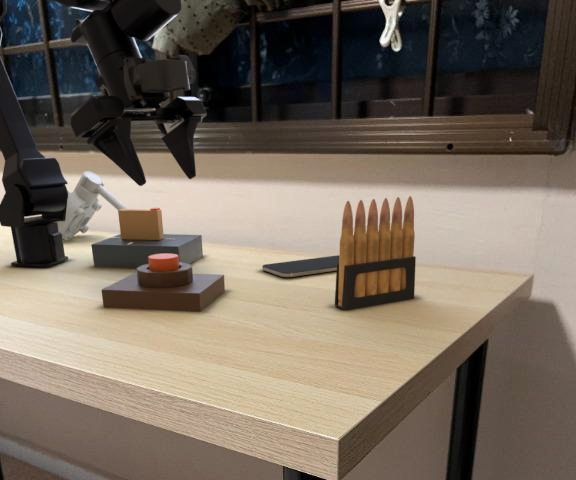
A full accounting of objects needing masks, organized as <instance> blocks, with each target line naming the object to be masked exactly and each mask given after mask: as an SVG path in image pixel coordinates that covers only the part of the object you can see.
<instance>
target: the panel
mask: <svg viewBox="0 0 576 480" xmlns="http://www.w3.org/2000/svg"><path fill="white" fill-rule="evenodd" d="M163 235H164V238H163V239H161V240H127V239H121V233H119V234H117V235H114V236H111V237H107V238H106V239H103V240H100V241H97V242H93V243H91V252H92V253H91V254H92V260H93V261H92V262H93V267H94V268H115V269H119V268H120V269H136V268H138V267H140V266H142V265H145V264H149V261H148V257H149V256H150V255H154V254H164V253H169V254H177V255H178V257H179V262H181V263H187V264H190V265H192V264H193V263H194V262H196V261H197V260H199V259H200V258H202V257H204V253H203V251H204V250H203V236H202V234H177V233H176V234H174V233H173V234H170V233H163Z"/></svg>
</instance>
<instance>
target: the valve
mask: <svg viewBox="0 0 576 480" xmlns="http://www.w3.org/2000/svg"><path fill="white" fill-rule="evenodd" d="M104 186H105V182H104V180H103V179H102V177H100V176H99V175H98V174H97V173H95V172H92V171H87V170H85V171H83V173H82V174H81V177H80V178H79V180H78V182H77V183H76V185H75V187H74V189H73V191H70V190H68V189H67V191H68V200H67V209H66V219H65V221H58V222H57V223H58V230H59V232H61V234H62V240H64V241H66V242H67V241H69V240H70V239H71V238H73V237H74V236H75V235H77V234H78V233H79V232H80V233H82V234H84V235H85V234H86V233H87V232H88V230H89V229H90V227H89V226H88V223H89V222H90V220H92V218H93V216H94V215H95V213H96V212H98V211H100V210H101V209H102V207H103V205H102V203H101V202H99V201H100V200H99V198H98V197H99V195H100V196H101V197H102V198H103V199H104V200H106V201H107V203H109V204H110V205H111V206H113V207H114V208H115V209H116V210H117V211H118V210H121V209H129V208H128V207H127V206H126V205H124V203H122V202H121V201H120V200H119V199H118V198H116V197H115V196H114V194H112V193H111V192H109V190H107V189H106V188H105V187H104Z"/></svg>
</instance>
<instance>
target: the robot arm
mask: <svg viewBox="0 0 576 480" xmlns="http://www.w3.org/2000/svg"><path fill="white" fill-rule="evenodd" d="M53 1H54V2H56V3H58V4H60V5H62V6H64V7H67V8H71V9H76V10H82V11H85V12H86V11H87V12H90V13H89V14H88V15H87V16H86V17H85V18H84V19H79V18H77V19H75V20H74V27H73V29H72V31H71V34H70V42H71V43H72V44H77V45H84V46H87V47H88V50H89V52H90V54H91V56H92V59H93V61H94V64H95V66H96V68H97V71H98V74H99V76H98V77H97V78H96V79H95V80H94V81H95V84H96V86H97V89H99V90H101V89H103V90H106V92H107V95H102V94H91V95H90V96H89V97H87V99H86V100H84V102H82V103H81V104H80V105H79V107H77V108H76V109H75V110H74V111H73V112H72V113H71V115H70V126H71V127H70V128H71V129H72V132H73V134H74V136H75V138H76V140H86V141H85V142H86V144H87V145H88V146H93V147H94V148H96V149H97V150H98V151H99V152H101V154H103V155H104V156H106V157H107V158H108V159H109V160H110V161H112V162H113V163H114V164H115V165H116V166H117V167H118V168H119V169H120V170H122V172H124V173H125V174H126V175H127V176H128V177H129V178H130V179H131V180H132V181H133V182H135V183H136V185H138V186H139V187H143V186H144V185H145V184H146V183H147V179H146V176H145V172H144V169H143V166H142V164H141V161H140V159H139V156H138V154H137V151H136V148H135V146H134V143H133V141H132V137H131V131H132V125H156V127H157V128H158V131H160V132H161V133H162V134H163V136H162V137H161V140H162V142H163V143H164V144H165V146H166V148H167V149H168V151H169V152H170V154H171V156H172V157H173V158H174V160H175V162H176V163H177V164H178V166H179V168H180V169H181V171H182V172H183V173H184V174H185V176H186V177H187V179H189V180H192V179H195V177H196V176H197V172H196V156H195V133H196V130H197V127H198V126H200V125H201V124H202V122H203V119H204V118H205V117H207V114H208V113H207V111H206V108H205V106H204V103H203V100H201V99H200V98H197V97H195V96H176V97H175V98H174V99H173V100H171V101H170V102H169V103H168V104H166V105H165V106H161V103H163V102H166V101H167V100H169V99H170V98H171V96H170V93H172V92H177V91H184V92H186V91H187V92H188V91H190V90H191V84H194V83H195V81H196V75H197V73H196V70H195V67H194V65H193V62H192V61H191V59H190V57H189V55H185V54H184V55H183V54H178V55H177V56H170V58H169V59H167V58H162V59H155V60H152V59H151V58H149V57H143V56H142V53H141V52H140V50H139V49H140V48H139V47H138V44H137V42H136V39H137V40H139V41H141V42H147V41H149V40H150V39H151V38H153V37H154V36H155V35H156V34H158V32H159V31H161V30H162V29H163V28H164V27H165V26H166V25H167V24H169V23H170V22H171V21H173V19H175V18H176V17H177V16H178V15H179V14H180V13H181V11H182V0H53ZM7 11H8V6H7V0H0V23H1V22H2V20H3V18H4V17H5V15H6V14H7ZM2 38H3V32H2V28H1V27H0V45H1V43H2ZM25 117H26V116H25V114H24V112H23V109H22V107H21V104H20V102H19V100H18V97H17V95H16V92H15V90H14V87H13V84H12V82H11V80H10V77H9V75H8V72H7V70H6V68H5V65H4V63H3V60H2V57H0V151H1V154H2V156H3V159H4V165H3V169H2V170H3V171H2V175H1V176H2V177H1V182H2V185H3V189H4V195H3V197H2V199H1V202H0V226H1V227H6V228H7V227H8V228H10V231H11V236H12V237H11V238H12V242H13V247H14V253H15V259H16V260H15V261H12V262H10V266H11V267H35V268H37V267H39V268H44V267H45V268H49V267H52V266H54V265H58V264H59V263H63V262H65V261H67V260H69V256H67V255H66V253H65V248H64V247H65V246H64V241H63V240H64V239H62V234H61V232H59V230H58V223H57V222H58V221H65V219H66V209H67V200H68V191H69V190H68V188H67V186H66V185H68V181H67V180H66V178H65V177H64V175H63V173H62V170H61V166H60V162H59V161H58V160H57V158H56V157H46V156H45V155H44V154H42V153H41V152H40V151H39V149H38V147H37V144H36V142H35V139H34V137H33V135H32V132H31V129H30V127H29V124H28V121H27V120H26V118H25ZM67 190H68V191H67Z"/></svg>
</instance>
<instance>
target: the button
mask: <svg viewBox="0 0 576 480" xmlns="http://www.w3.org/2000/svg"><path fill="white" fill-rule="evenodd" d="M148 261H149V270H152V271H168V270H175V269H179V257H178V255H177V254H169V253H164V254H154V255H150V256H149V257H148Z"/></svg>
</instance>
